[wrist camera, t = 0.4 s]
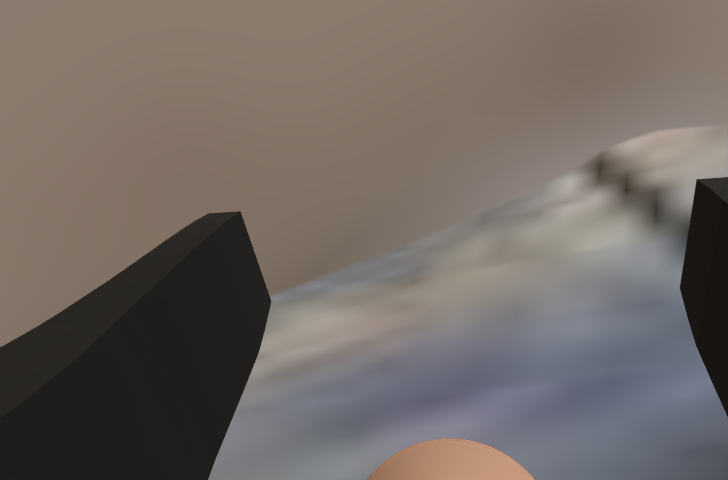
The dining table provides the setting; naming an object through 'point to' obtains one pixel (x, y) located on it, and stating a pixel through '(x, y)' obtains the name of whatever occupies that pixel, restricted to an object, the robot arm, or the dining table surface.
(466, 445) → the dish
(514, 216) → the dining table surface
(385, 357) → the dining table surface
